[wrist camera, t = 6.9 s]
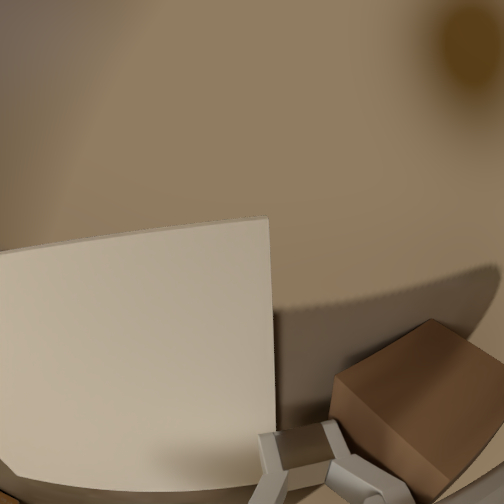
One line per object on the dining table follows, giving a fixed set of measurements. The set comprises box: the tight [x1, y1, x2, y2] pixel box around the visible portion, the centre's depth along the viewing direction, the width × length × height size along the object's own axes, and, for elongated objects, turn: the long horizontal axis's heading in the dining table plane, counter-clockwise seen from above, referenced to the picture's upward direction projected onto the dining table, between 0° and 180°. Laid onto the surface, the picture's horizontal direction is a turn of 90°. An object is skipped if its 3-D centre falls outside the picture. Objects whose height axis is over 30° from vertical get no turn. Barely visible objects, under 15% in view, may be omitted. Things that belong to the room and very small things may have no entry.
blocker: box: [328, 319, 504, 504], centre depth 9 cm, size 5×5×5 cm
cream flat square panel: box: [0, 215, 276, 492], centre depth 10 cm, size 14×16×1 cm
